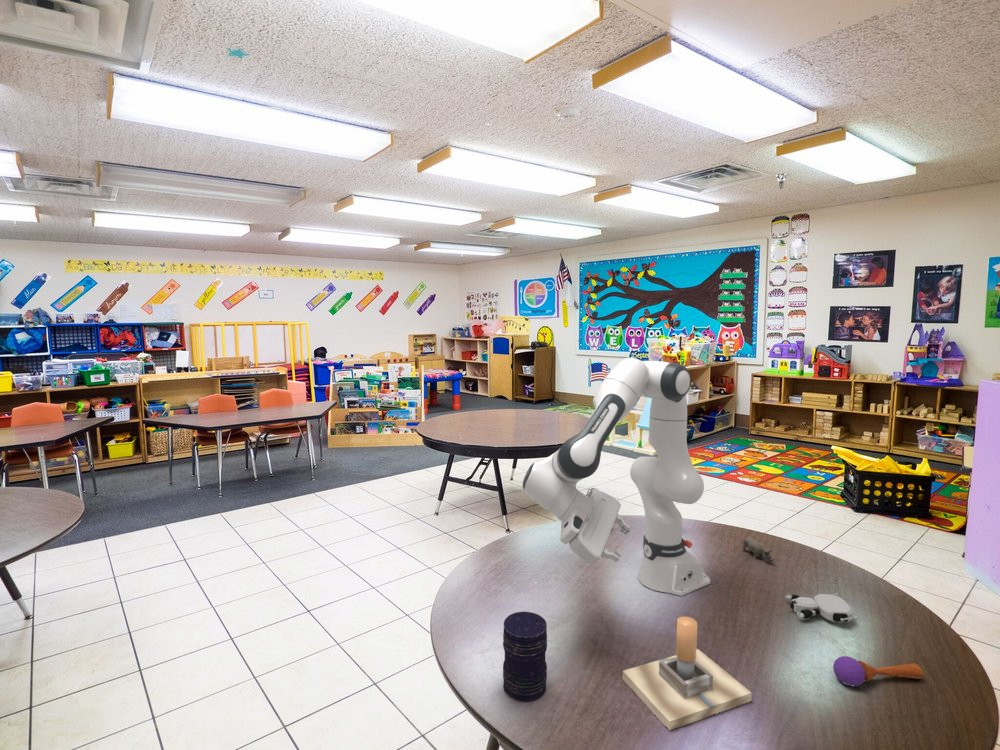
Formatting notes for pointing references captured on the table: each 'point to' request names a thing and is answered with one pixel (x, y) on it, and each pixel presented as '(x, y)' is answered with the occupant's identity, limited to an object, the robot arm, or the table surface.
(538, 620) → the dark blue cylinder
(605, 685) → the table surface
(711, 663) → the plywood panel
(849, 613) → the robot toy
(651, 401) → the robot arm
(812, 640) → the table surface
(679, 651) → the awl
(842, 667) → the purple maraca
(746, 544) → the rhino figurine
